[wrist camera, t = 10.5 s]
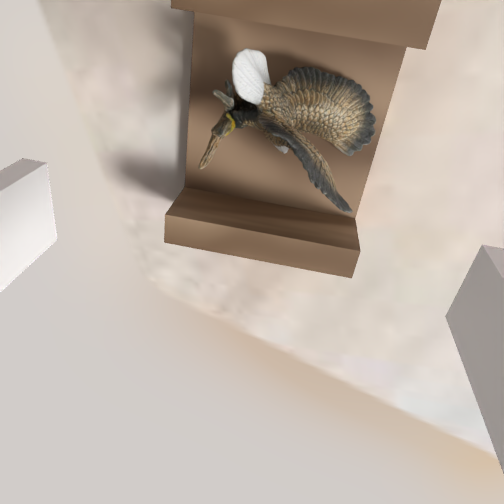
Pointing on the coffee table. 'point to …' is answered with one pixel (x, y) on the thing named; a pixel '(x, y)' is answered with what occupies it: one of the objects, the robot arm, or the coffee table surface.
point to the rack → (288, 165)
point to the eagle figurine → (295, 115)
